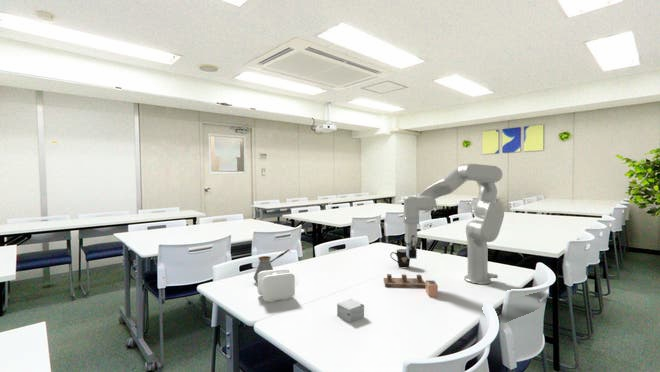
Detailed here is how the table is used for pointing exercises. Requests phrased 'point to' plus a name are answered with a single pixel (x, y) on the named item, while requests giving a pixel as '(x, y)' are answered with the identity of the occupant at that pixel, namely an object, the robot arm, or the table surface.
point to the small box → (350, 310)
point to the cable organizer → (276, 284)
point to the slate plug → (408, 252)
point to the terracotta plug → (431, 288)
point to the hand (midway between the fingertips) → (411, 255)
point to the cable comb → (404, 281)
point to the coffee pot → (266, 264)
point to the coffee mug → (402, 258)
